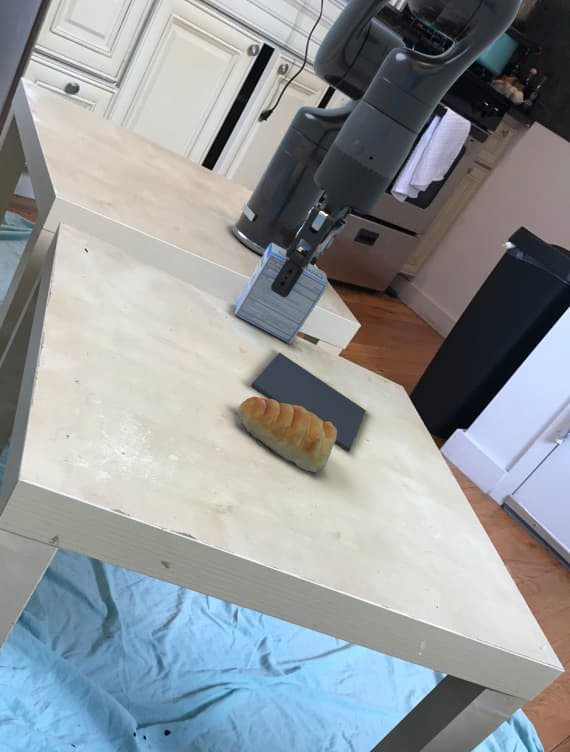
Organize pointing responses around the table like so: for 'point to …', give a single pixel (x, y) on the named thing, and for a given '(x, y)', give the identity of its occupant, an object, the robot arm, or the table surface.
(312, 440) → the pastry
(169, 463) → the table surface
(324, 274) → the medicine box
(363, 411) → the mat
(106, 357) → the table surface
